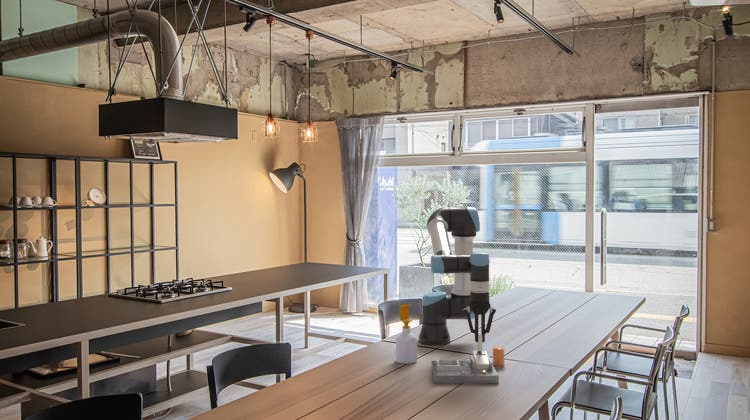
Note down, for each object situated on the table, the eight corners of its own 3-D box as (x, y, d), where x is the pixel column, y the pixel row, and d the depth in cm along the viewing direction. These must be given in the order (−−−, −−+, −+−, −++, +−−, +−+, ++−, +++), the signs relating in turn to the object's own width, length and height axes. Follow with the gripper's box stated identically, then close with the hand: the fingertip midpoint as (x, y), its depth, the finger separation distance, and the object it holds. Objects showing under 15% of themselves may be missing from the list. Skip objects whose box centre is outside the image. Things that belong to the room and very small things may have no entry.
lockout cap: (492, 363, 257) (492, 347, 257) (503, 363, 257) (503, 347, 257) (493, 366, 253) (493, 350, 252) (505, 366, 253) (505, 349, 252)
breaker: (473, 355, 247) (473, 350, 246) (485, 355, 246) (486, 350, 246) (476, 368, 238) (476, 363, 237) (489, 368, 238) (489, 363, 237)
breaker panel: (431, 368, 252) (431, 352, 252) (490, 367, 251) (490, 352, 251) (434, 383, 232) (434, 367, 232) (498, 383, 231) (498, 367, 231)
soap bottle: (399, 365, 257) (399, 306, 256) (393, 359, 265) (392, 302, 264) (420, 363, 259) (419, 305, 258) (413, 357, 268) (412, 301, 267)
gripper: (464, 292, 241) (464, 352, 242) (497, 292, 241) (497, 352, 241) (462, 289, 249) (462, 347, 249) (494, 289, 248) (494, 347, 249)
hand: (479, 350), depth 245 cm, fingers closed
